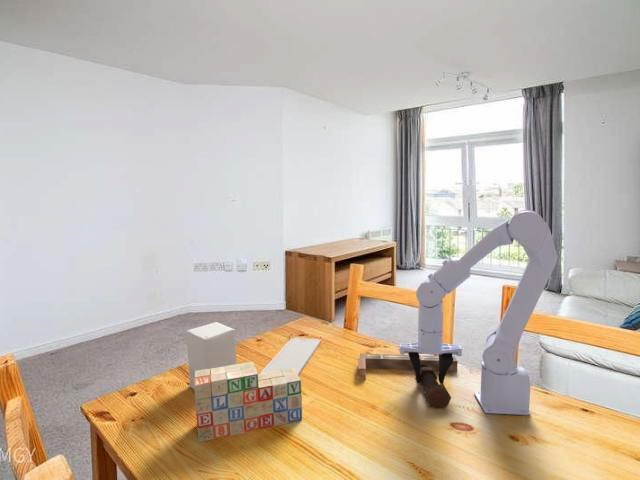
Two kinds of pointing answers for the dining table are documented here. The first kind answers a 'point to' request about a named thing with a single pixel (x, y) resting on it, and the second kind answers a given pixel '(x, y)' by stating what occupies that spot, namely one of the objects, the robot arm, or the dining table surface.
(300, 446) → the dining table surface
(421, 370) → the bolt
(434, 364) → the walnut fence
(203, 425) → the stack of blocks
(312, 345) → the baseboard molding
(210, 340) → the supplement box
